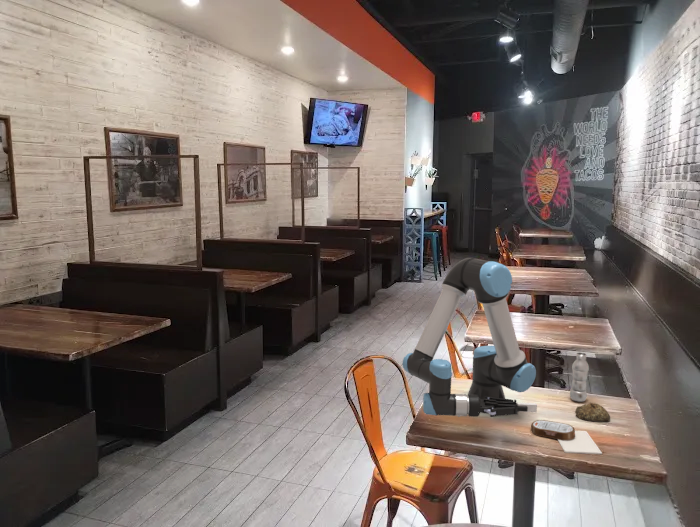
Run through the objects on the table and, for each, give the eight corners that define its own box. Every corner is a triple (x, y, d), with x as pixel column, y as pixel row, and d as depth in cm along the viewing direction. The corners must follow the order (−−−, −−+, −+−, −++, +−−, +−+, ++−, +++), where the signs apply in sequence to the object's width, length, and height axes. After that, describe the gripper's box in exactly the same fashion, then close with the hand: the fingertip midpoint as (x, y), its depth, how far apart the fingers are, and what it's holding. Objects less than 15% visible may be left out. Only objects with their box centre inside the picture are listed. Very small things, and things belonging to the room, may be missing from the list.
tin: (573, 441, 192) (576, 433, 200) (573, 433, 192) (577, 424, 199) (528, 434, 200) (533, 426, 207) (528, 425, 200) (533, 417, 207)
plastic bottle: (585, 398, 232) (588, 352, 229) (587, 404, 225) (591, 357, 222) (568, 396, 234) (572, 350, 230) (570, 402, 227) (573, 355, 224)
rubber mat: (564, 452, 187) (564, 451, 187) (552, 430, 203) (552, 429, 202) (601, 454, 186) (602, 452, 186) (586, 432, 202) (586, 430, 201)
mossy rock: (611, 425, 208) (612, 412, 207) (576, 420, 212) (577, 408, 211) (606, 410, 220) (607, 399, 220) (572, 407, 224) (573, 395, 223)
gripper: (464, 407, 202) (531, 410, 201) (469, 423, 190) (540, 426, 188) (465, 388, 201) (532, 390, 199) (470, 402, 188) (541, 405, 186)
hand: (536, 407), depth 193 cm, fingers closed
